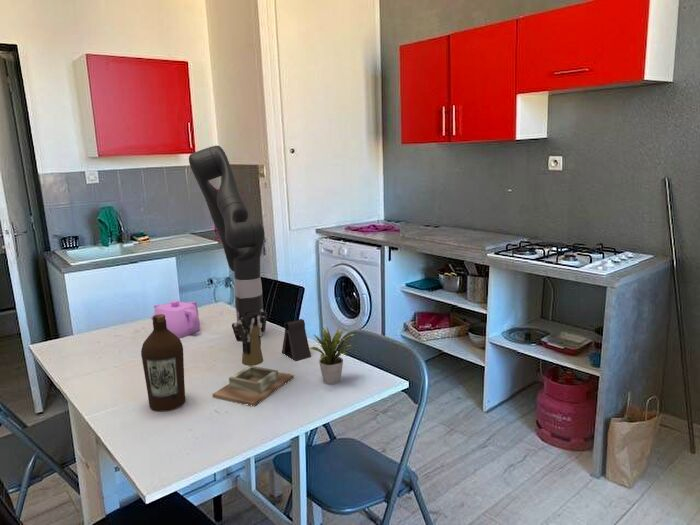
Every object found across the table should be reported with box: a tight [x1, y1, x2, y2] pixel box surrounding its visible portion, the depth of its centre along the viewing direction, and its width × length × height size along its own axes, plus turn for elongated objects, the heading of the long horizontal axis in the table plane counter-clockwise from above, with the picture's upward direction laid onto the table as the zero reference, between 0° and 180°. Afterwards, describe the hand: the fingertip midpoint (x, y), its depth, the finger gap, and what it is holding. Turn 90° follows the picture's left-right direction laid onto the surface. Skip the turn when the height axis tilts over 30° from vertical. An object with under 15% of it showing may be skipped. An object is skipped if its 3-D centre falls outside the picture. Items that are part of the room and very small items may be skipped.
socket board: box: [212, 365, 295, 407], centre depth 155 cm, size 20×14×4 cm
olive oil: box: [140, 314, 186, 412], centre depth 144 cm, size 11×11×25 cm
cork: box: [241, 325, 264, 367], centre depth 153 cm, size 6×6×11 cm
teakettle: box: [150, 299, 201, 339], centre depth 204 cm, size 17×17×12 cm
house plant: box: [309, 326, 356, 385], centre depth 156 cm, size 14×14×16 cm
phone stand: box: [281, 318, 312, 362], centre depth 178 cm, size 9×6×12 cm, turn 36°
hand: (252, 350), depth 153 cm, fingers closed on cork, 4 cm apart
